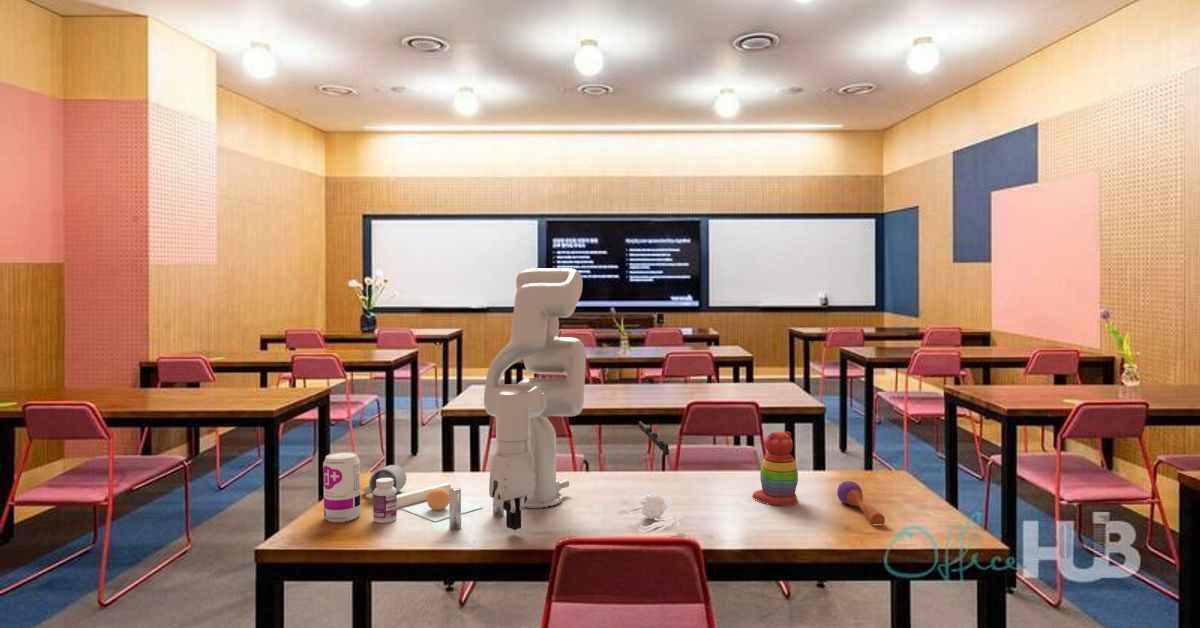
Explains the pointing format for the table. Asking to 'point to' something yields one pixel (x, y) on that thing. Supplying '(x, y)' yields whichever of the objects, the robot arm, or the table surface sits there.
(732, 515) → the table surface
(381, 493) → the pill bottle
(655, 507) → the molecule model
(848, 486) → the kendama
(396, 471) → the ceramic mug
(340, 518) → the supplement can
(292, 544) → the table surface
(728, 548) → the table surface
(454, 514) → the post
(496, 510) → the post
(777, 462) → the stacking bear
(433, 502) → the ball
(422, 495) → the strip
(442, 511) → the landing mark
